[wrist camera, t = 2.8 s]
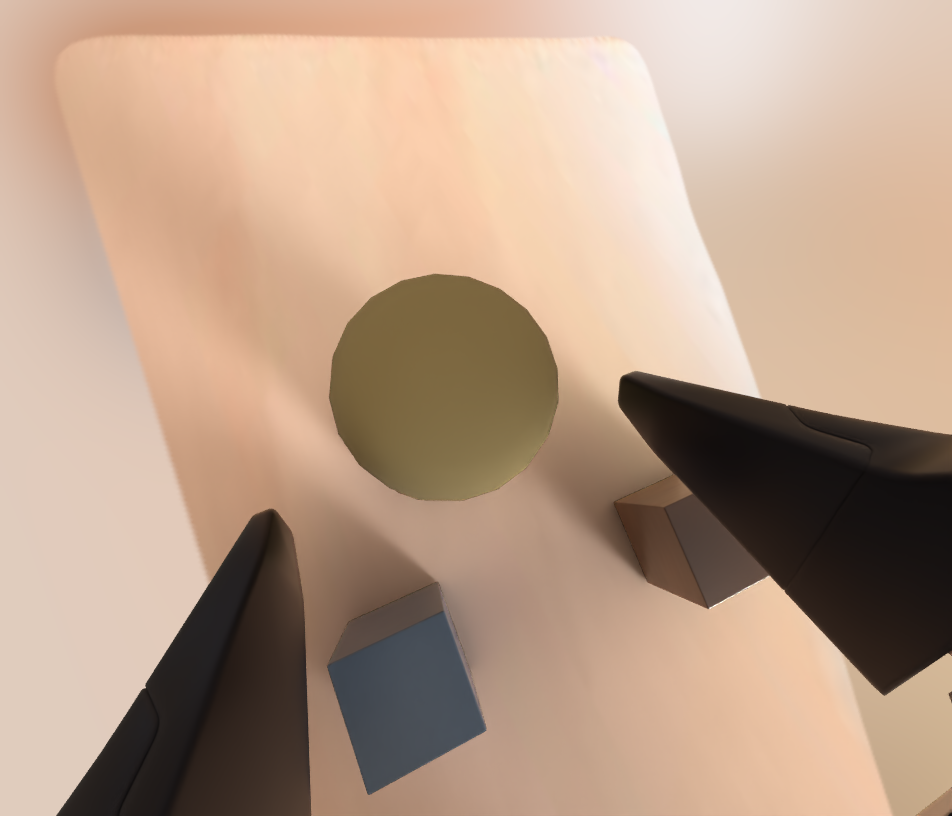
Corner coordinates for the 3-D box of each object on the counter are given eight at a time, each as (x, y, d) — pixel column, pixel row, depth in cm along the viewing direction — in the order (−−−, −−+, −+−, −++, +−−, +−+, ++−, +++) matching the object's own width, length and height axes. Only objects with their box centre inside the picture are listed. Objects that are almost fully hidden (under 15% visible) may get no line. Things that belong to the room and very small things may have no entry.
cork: (458, 524, 18) (522, 590, 7) (338, 460, 17) (215, 428, 7) (516, 409, 19) (644, 317, 8) (406, 348, 19) (394, 174, 8)
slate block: (471, 672, 17) (487, 731, 13) (379, 719, 16) (367, 796, 12) (437, 581, 17) (444, 610, 13) (347, 621, 16) (326, 665, 12)
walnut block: (715, 548, 19) (790, 565, 15) (647, 582, 18) (708, 609, 15) (680, 471, 20) (745, 469, 16) (613, 502, 19) (663, 507, 15)
